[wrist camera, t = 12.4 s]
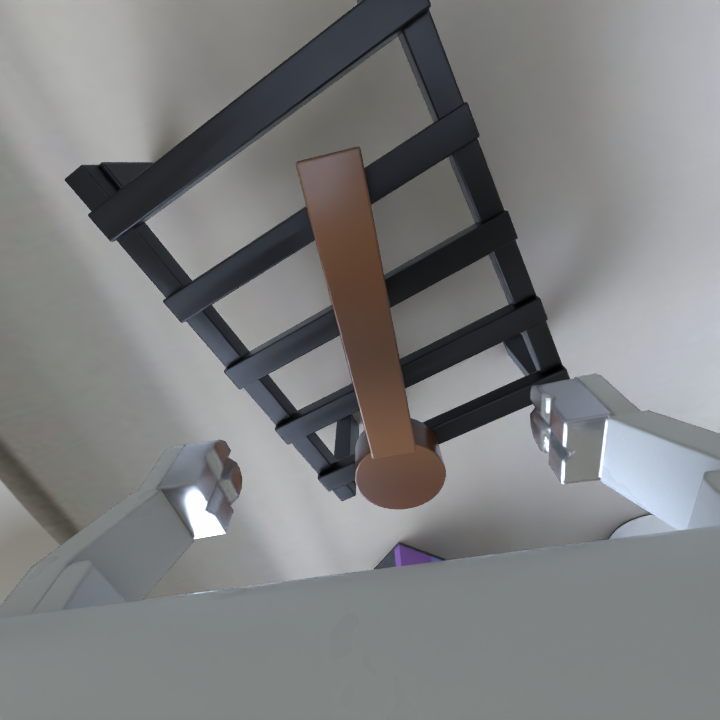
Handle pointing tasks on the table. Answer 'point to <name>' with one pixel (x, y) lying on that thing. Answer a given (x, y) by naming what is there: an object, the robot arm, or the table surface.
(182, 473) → the robot arm
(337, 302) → the plank on round base
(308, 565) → the table surface
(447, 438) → the rack
